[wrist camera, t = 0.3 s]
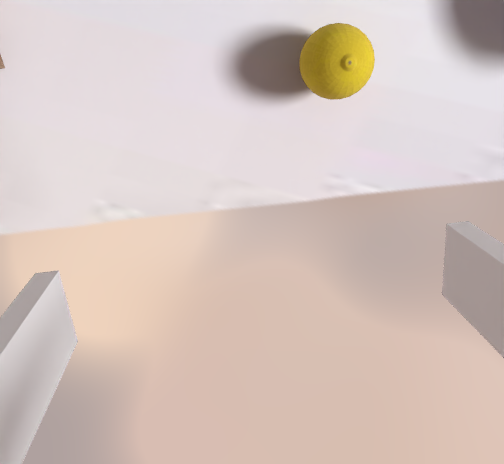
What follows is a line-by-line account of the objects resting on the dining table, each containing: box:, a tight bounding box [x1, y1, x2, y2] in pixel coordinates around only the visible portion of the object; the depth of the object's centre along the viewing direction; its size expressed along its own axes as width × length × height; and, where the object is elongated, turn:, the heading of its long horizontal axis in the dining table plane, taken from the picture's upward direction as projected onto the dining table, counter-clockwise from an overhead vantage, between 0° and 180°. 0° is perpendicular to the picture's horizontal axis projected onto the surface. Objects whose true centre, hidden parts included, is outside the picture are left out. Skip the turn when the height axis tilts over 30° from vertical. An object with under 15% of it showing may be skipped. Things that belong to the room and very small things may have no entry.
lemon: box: [299, 23, 375, 99], centre depth 36 cm, size 6×6×8 cm
